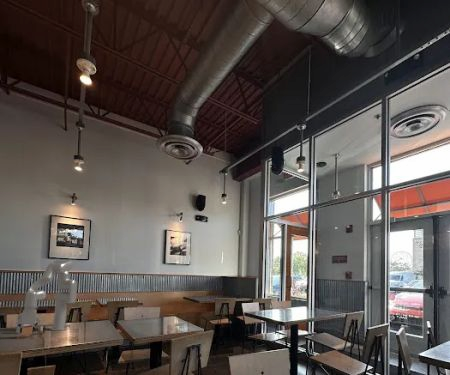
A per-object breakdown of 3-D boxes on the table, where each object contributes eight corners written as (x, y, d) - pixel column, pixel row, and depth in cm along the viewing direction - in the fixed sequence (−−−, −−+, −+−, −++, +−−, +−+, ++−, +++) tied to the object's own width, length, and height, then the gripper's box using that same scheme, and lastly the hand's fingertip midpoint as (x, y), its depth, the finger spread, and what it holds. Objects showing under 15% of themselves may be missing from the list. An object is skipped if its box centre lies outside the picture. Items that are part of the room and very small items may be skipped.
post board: (46, 334, 284) (47, 324, 285) (46, 339, 266) (47, 329, 268) (18, 336, 275) (19, 326, 277) (15, 341, 258) (17, 330, 259)
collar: (32, 332, 271) (33, 325, 272) (31, 334, 265) (32, 327, 265) (22, 333, 268) (22, 326, 269) (21, 335, 262) (22, 328, 263)
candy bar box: (26, 332, 290) (29, 311, 293) (31, 332, 288) (34, 312, 292) (15, 334, 279) (18, 313, 283) (19, 335, 278) (22, 313, 281)
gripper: (42, 306, 277) (40, 330, 273) (17, 307, 269) (14, 332, 266) (42, 308, 270) (39, 332, 267) (16, 309, 263) (13, 334, 259)
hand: (27, 332), depth 266 cm, fingers closed on collar, 7 cm apart
